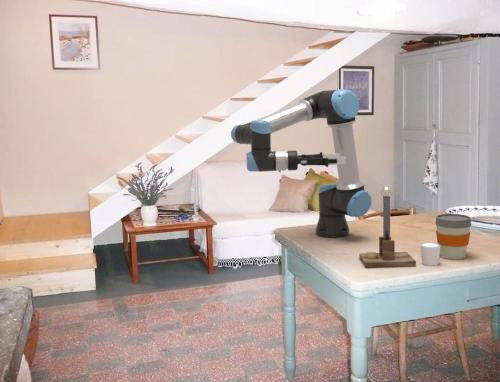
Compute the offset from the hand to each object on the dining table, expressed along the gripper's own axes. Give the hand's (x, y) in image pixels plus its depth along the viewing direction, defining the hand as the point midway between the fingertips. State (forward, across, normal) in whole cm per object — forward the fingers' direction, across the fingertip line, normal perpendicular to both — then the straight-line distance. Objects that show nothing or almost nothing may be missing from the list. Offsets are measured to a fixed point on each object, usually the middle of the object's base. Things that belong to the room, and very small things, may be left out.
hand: (342, 158), depth 201 cm
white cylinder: (+29, +16, -38) cm, 50 cm away
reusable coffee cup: (+40, +8, -38) cm, 56 cm away
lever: (+14, +12, -33) cm, 38 cm away
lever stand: (+14, +12, -38) cm, 42 cm away
